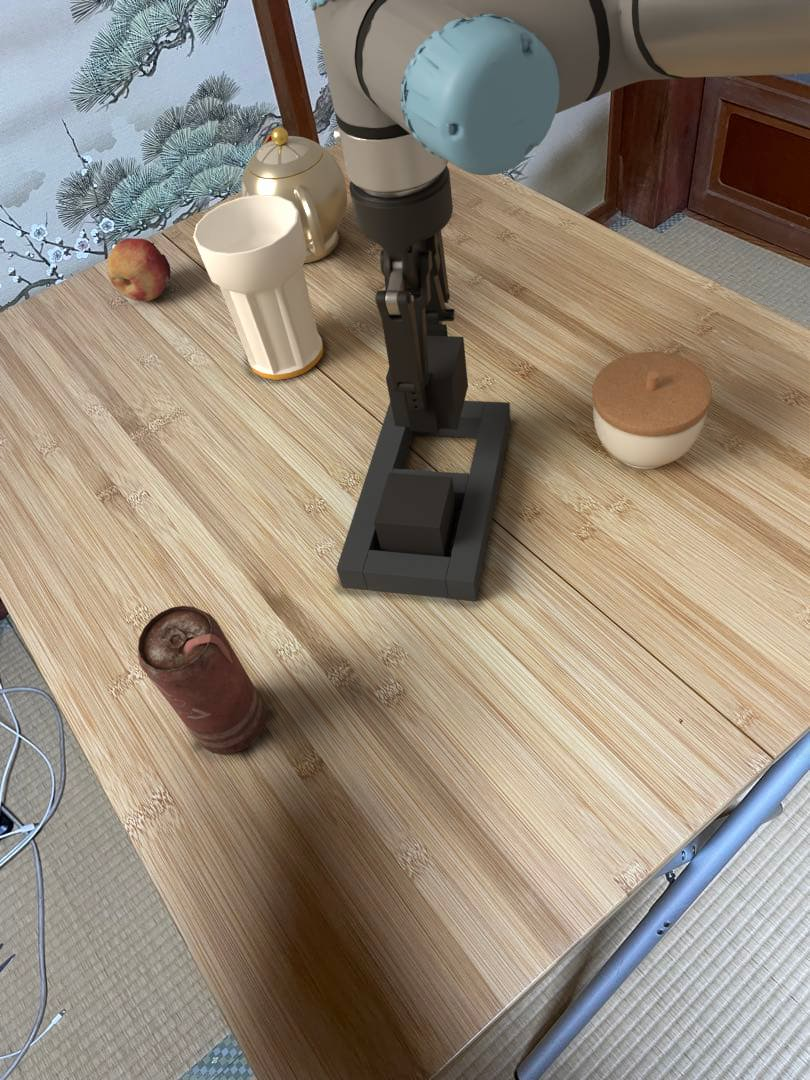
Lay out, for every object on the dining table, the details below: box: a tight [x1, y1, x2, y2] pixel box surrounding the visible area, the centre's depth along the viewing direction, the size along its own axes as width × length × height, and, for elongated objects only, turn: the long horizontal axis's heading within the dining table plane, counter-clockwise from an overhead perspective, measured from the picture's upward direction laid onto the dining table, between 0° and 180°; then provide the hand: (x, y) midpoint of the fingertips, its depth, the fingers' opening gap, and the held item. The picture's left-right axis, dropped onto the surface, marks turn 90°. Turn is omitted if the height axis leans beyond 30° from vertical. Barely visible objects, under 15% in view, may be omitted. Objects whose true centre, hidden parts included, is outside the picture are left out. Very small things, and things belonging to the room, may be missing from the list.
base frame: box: [336, 400, 512, 602], centre depth 82 cm, size 13×23×3 cm, turn 168°
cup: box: [192, 194, 324, 381], centre depth 93 cm, size 11×11×17 cm
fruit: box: [106, 237, 172, 302], centre depth 109 cm, size 8×8×8 cm
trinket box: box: [591, 351, 713, 470], centre depth 80 cm, size 11×11×9 cm
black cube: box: [385, 335, 469, 430], centre depth 77 cm, size 6×6×6 cm
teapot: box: [240, 126, 348, 264], centre depth 107 cm, size 18×14×16 cm
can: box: [137, 605, 267, 756], centre depth 65 cm, size 6×6×14 cm
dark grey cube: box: [374, 473, 459, 557], centre depth 77 cm, size 6×6×6 cm
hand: (432, 403), depth 79 cm, fingers closed on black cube, 6 cm apart
